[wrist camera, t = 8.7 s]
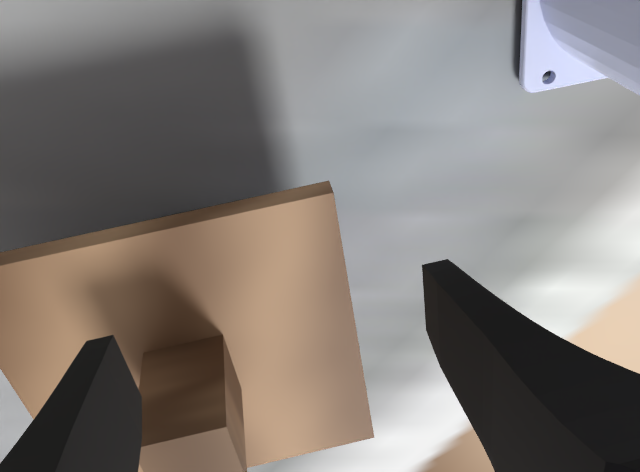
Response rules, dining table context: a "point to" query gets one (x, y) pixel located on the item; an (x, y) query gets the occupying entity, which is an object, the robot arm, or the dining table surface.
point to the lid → (202, 328)
